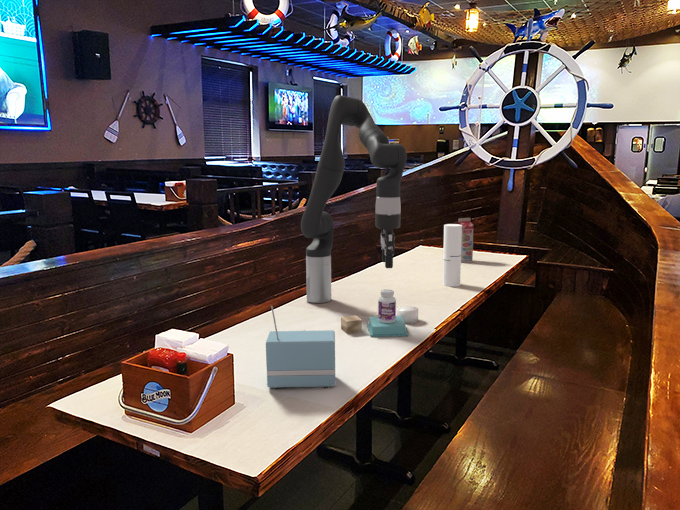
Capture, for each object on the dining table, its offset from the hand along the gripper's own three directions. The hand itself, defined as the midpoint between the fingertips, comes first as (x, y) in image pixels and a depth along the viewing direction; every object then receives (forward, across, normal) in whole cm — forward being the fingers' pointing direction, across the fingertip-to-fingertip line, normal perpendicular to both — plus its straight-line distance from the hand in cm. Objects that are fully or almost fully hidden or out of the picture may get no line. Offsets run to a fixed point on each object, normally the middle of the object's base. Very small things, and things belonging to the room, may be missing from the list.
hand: (387, 265), depth 163 cm
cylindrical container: (+21, -56, +33) cm, 69 cm away
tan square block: (+21, 0, -11) cm, 24 cm away
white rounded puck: (+21, -9, +8) cm, 24 cm away
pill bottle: (+18, +1, 0) cm, 18 cm away
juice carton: (+21, -105, +51) cm, 119 cm away
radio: (+21, +38, -25) cm, 50 cm away
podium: (+20, +1, 0) cm, 21 cm away
